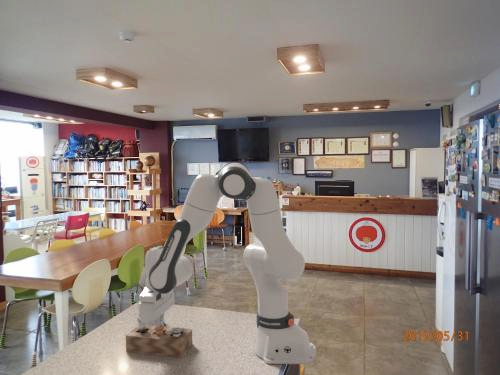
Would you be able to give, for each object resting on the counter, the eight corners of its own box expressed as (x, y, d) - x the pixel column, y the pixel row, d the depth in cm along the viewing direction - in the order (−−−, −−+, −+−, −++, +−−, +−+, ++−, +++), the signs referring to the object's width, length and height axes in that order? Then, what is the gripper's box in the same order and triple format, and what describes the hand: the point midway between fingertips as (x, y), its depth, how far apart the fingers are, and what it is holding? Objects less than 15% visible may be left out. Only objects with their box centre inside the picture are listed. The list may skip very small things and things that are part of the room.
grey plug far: (149, 332, 139) (148, 316, 139) (144, 336, 136) (144, 320, 135) (140, 331, 140) (140, 315, 140) (135, 335, 136) (135, 319, 136)
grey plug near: (183, 344, 136) (183, 327, 136) (179, 349, 132) (179, 332, 132) (174, 343, 137) (174, 327, 136) (170, 348, 133) (169, 331, 133)
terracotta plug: (166, 340, 138) (165, 324, 137) (161, 345, 134) (161, 328, 134) (157, 339, 138) (157, 323, 138) (153, 344, 135) (152, 327, 134)
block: (192, 344, 139) (192, 329, 138) (181, 357, 129) (181, 341, 128) (140, 338, 144) (140, 323, 143) (126, 351, 134) (125, 335, 134)
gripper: (163, 280, 146) (164, 314, 147) (135, 298, 126) (137, 337, 127) (177, 281, 144) (178, 315, 145) (152, 299, 124) (153, 339, 125)
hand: (159, 325), depth 136 cm, fingers closed, pressing on terracotta plug
